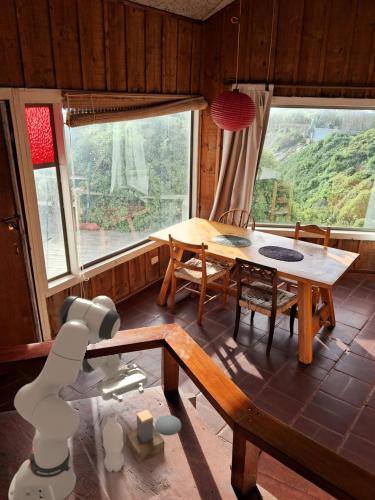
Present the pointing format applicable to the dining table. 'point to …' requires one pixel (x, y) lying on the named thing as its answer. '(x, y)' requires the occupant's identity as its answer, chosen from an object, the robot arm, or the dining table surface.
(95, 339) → the robot arm
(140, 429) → the plug peg
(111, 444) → the water bottle
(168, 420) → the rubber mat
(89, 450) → the dining table surface
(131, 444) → the block
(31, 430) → the dining table surface
